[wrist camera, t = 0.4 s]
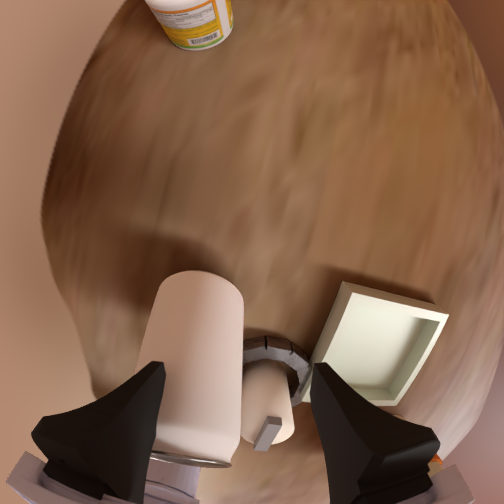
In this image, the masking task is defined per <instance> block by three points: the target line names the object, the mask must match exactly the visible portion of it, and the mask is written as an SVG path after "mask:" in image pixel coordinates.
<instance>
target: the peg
mask: <svg viewBox="0 0 504 504" xmlns="http://www.w3.org/2000/svg"><path fill="white" fill-rule="evenodd" d="M293 432H294V421H293V415H292V408H291V401H290V395H289V388H288V382H287V375H286V369H285V367H284V365H283V364H282V363H281V362H279V361H277V360H272V359H267V358H265V359H260V360H255V361H250V362H249V363H248V364H247V365H246V366H245V367H244V369H243V375H242V395H241V429H240V435H241V436H242V437H243V438H244V439H245V440H247V441H248V442H251V443H254V450H256V451H265V452H267V450H268V449H269V447H270V445H271V444H277V443H280V442H282V441H285V440H286V439H288V438H289V437H290V436H291V435H292V434H293Z"/></svg>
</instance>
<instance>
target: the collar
mask: <svg viewBox="0 0 504 504" xmlns="http://www.w3.org/2000/svg"><path fill="white" fill-rule="evenodd" d="M265 358H267V359H272V360H277V361H283V362H285V363H287V364H288V365H289V366H290V367H292V368H293V369H294V370H296V371H297V376H296V378H295V380H294V382H293V384H292V386H290V387H289V395H290V401H291V408H293V407H295V406H296V405H298V404H299V403H301V402H302V401H301V397H300V394H301V392H302V390H303V388H304V386H305V384H306V382H307V381H308V379H309V377H310V375H311V373H312V372H311V367H310V364H309V360H308V357H307V355H306V354H305V353H304V352H303V351H302V350H301V349H300V348H298V347H297V346H296V345H295V344H294V343H293V342H291V343H290V341H289V340H284V339H279V338H274V337H269V336H267V337H266V340H265V337H264V336H262V337H257V338H253V339H248V340H243V357H242V365H244V364H245V363H246V362H250V361H255V360H260V359H265Z"/></svg>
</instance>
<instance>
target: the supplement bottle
mask: <svg viewBox="0 0 504 504" xmlns="http://www.w3.org/2000/svg"><path fill="white" fill-rule="evenodd" d="M145 2H146V3H147V5H148V6H149V8H150V9H151V11H152V12H153V14H154V15H155V17H156V18H157V20H158V21H159V23H160V24H161V26H162V27H163V29H164V31H165V32H166V34H167V35H168V37H169V38H170V40H171V41H172V42H173V43H174V44H175V45H176V46H178V47H179V48H182V49H185V50H192V51H195V50H204V49H208V48H211V47H213V46H216V45H217V44H219V43H221V42H222V41H223V40H225V39H226V38H227V36H228V35H229V34H230V32H231V30H232V27H233V15H232V8H231V2H230V0H145Z"/></svg>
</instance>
